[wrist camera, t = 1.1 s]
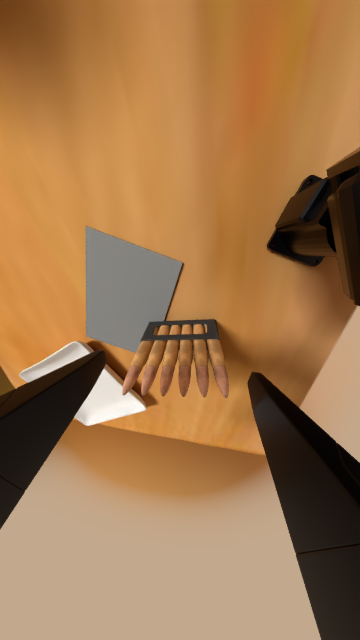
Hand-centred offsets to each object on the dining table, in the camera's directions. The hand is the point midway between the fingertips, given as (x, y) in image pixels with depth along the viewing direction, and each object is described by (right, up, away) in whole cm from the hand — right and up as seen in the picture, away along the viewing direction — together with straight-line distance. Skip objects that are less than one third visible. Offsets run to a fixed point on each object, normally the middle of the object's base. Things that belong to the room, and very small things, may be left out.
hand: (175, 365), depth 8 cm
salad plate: (-21, -12, +24) cm, 34 cm away
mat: (-8, +5, +13) cm, 17 cm away
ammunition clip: (+1, +2, +14) cm, 14 cm away
